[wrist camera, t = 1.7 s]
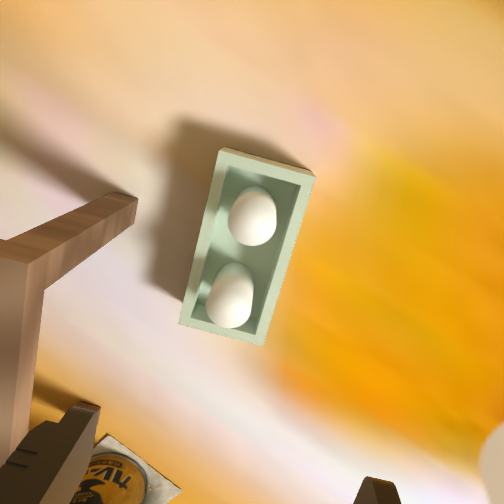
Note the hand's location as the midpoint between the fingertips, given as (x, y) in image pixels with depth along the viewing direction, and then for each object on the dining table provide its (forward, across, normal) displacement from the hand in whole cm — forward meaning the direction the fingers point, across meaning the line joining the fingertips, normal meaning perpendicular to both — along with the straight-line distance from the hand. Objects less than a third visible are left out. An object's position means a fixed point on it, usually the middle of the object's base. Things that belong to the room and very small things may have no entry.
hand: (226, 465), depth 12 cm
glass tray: (+18, +1, -1) cm, 19 cm away
